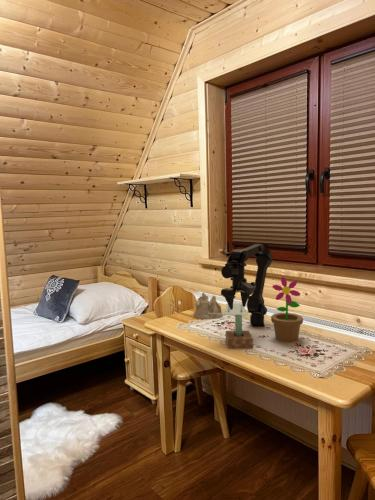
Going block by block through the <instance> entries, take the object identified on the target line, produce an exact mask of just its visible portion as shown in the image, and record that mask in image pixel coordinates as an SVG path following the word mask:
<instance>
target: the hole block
mask: <svg viewBox="0 0 375 500" xmlns="http://www.w3.org/2000/svg"><path fill="white" fill-rule="evenodd" d="M225 342H226V346H227V349H235V348H239V349H240V348H243V349H244V348H247V349H249V348H254V339H253V336H252V334H251V331H250V330H248V329H247V330H246V329H245V330H242V336H235V330H225Z"/></svg>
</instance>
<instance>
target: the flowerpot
mask: <svg viewBox="0 0 375 500" xmlns="http://www.w3.org/2000/svg"><path fill="white" fill-rule="evenodd" d="M280 282H281V285H282V286H283V287H282V286H281V285H278V284H274V285H273V284H272V289H274V290H275V291H279V293H278V294H276V296H275V300H276V301H278V300H281V299H282V298H284V295H285V306H279V307H277V308H276V310H277V311H279V312H278V313H273V314H272V315H271V316H270V322H271V323H272V324H273V328H274V335H275V339H276V340H277V341H279V342H283V343H295V342H297V341H298V340H299V336H300V328H301V325H302V324H303V323H304V318H303V316H302V315H299V314H297V313H291V312H289V307H291V308H299V307H300V304H299V303H298V302H297V301H294V300H292V297H291V296H295V297H299V296H301V293H300V292H299V290H295V289H294V288H295V286H296V287H297V284H298V281H297V280H293V281H291V282H290V283H289V284H288V282H287V278H286V277H284V276H281V279H280ZM287 285H288V286H287ZM280 291H281V292H280Z"/></svg>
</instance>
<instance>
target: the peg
mask: <svg viewBox="0 0 375 500" xmlns="http://www.w3.org/2000/svg"><path fill="white" fill-rule="evenodd" d="M234 319H235V321H234V323H235V324H234V325H235V326H234V327H235V329H234V331H235V336H242V331H243V316H242V315H239V314H238V315H234Z"/></svg>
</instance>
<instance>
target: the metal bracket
mask: <svg viewBox="0 0 375 500" xmlns="http://www.w3.org/2000/svg"><path fill="white" fill-rule="evenodd" d="M245 309H246V306H245V307H243V305H242V303H236V301H235V303H233V310H231V309H230V307H229V305H228V303H226V305H225V311H221V312H222V314H223V316H235V315H238V314H239V315H242V317H244V316H245V317H246V316H247V317H248V316H249V313H248V311H247V312H246V311H245Z"/></svg>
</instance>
